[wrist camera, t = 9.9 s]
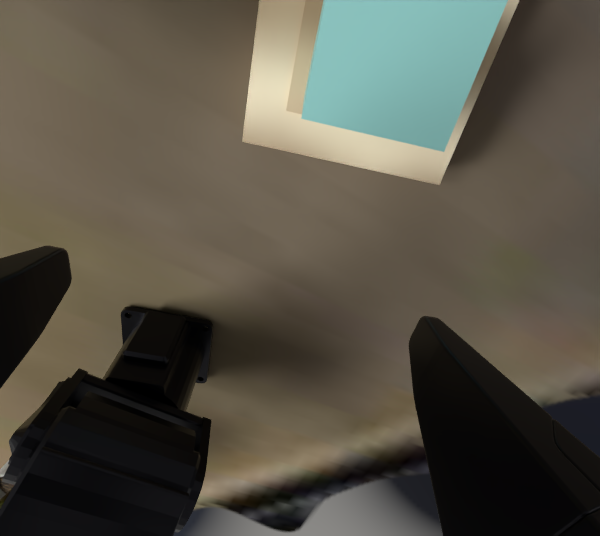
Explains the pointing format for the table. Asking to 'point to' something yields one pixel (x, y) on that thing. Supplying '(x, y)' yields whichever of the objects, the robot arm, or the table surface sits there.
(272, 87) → the cream square tray
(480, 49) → the teal cube
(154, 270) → the table surface
